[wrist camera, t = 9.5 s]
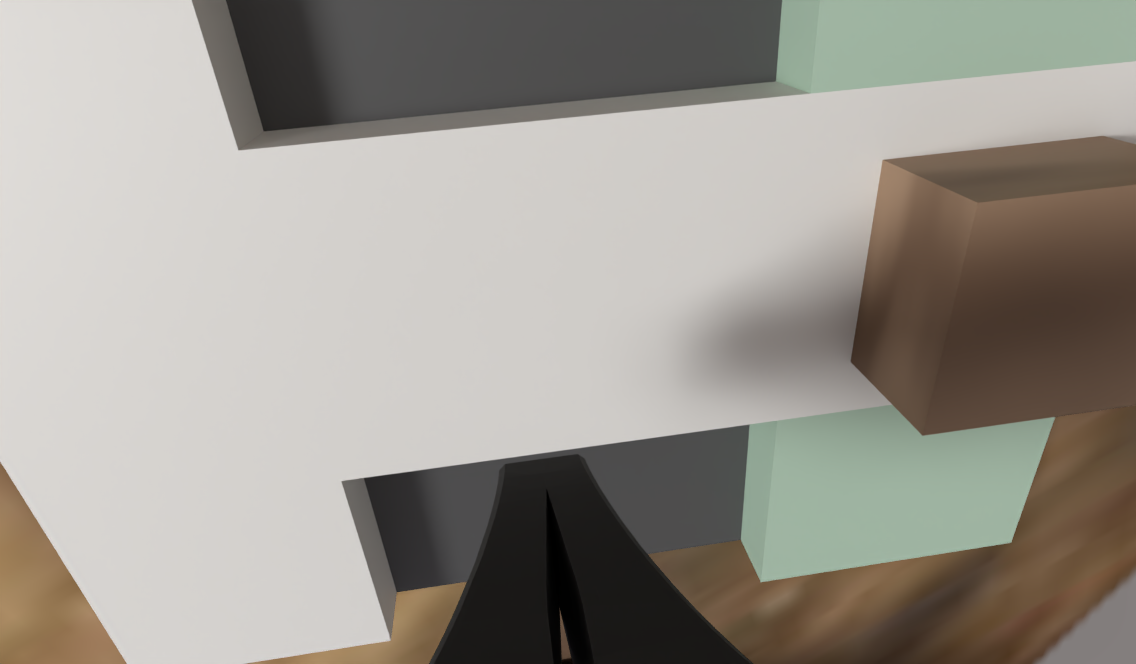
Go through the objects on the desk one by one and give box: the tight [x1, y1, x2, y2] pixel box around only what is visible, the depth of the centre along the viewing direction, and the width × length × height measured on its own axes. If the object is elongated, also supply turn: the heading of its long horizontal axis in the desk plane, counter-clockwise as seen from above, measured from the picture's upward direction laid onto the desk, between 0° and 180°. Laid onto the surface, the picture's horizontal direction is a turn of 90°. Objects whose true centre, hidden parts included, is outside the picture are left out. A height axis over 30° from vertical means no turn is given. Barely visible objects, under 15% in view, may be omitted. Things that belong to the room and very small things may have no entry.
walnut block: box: [851, 136, 1136, 436], centre depth 14 cm, size 5×5×3 cm
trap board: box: [0, 0, 1136, 664], centre depth 15 cm, size 20×26×2 cm
